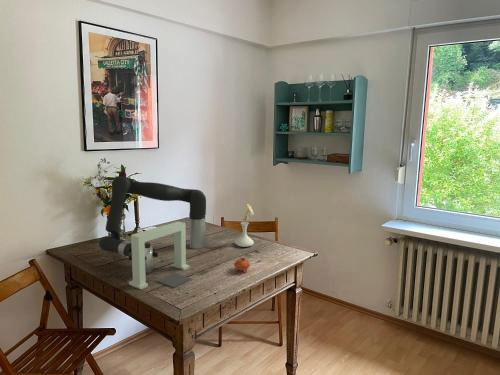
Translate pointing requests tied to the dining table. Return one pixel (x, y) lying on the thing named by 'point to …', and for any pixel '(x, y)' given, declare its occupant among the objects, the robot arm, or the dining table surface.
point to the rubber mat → (174, 280)
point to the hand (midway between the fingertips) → (151, 257)
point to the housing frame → (151, 234)
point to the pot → (242, 264)
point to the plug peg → (148, 258)
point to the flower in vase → (244, 239)
